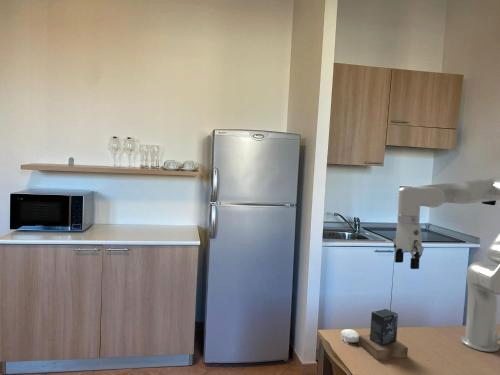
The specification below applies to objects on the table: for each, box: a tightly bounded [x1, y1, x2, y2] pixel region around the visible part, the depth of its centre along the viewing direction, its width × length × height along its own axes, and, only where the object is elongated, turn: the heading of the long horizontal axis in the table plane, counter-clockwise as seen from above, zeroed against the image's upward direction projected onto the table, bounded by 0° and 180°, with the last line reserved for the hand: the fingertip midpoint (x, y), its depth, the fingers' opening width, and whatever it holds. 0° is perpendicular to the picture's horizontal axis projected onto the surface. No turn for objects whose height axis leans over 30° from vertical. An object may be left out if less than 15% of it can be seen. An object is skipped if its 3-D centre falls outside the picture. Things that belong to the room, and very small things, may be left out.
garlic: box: [340, 328, 360, 345], centre depth 144 cm, size 8×7×4 cm
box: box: [369, 308, 399, 346], centre depth 137 cm, size 8×6×11 cm
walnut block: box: [358, 334, 409, 361], centre depth 137 cm, size 12×12×4 cm
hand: (406, 265), depth 142 cm, fingers open, 9 cm apart
